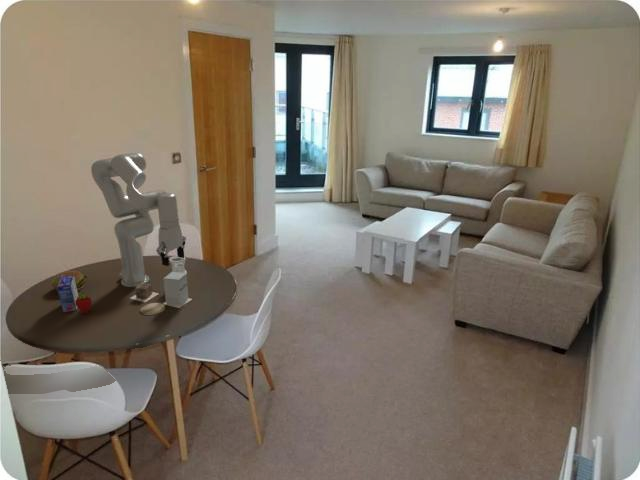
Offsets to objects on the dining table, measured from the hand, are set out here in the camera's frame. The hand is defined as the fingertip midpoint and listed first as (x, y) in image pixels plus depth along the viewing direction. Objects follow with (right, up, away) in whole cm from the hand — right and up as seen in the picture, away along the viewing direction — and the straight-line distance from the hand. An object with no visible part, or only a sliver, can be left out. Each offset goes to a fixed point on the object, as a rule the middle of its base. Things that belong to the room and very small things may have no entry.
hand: (173, 261), depth 187 cm
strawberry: (-36, -22, -4) cm, 42 cm away
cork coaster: (-9, -21, 0) cm, 23 cm away
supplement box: (-1, -18, +7) cm, 20 cm away
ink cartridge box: (-45, -20, +2) cm, 49 cm away
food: (-54, -14, +17) cm, 59 cm away
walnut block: (-17, -16, +11) cm, 26 cm away
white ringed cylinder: (-4, -13, +23) cm, 26 cm away
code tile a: (-1, -18, +7) cm, 20 cm away
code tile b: (-17, -17, +11) cm, 26 cm away
